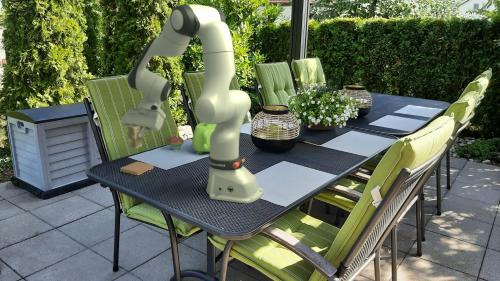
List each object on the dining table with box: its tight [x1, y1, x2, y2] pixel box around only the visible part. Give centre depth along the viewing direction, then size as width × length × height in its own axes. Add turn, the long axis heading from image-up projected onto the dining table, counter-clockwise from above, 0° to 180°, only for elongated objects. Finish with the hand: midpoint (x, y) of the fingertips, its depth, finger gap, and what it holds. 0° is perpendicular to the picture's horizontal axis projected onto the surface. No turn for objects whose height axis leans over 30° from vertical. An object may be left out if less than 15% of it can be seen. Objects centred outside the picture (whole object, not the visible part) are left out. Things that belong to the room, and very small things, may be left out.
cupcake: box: [166, 128, 184, 151], centre depth 197 cm, size 9×8×12 cm
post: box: [126, 125, 143, 149], centre depth 163 cm, size 4×4×9 cm
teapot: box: [191, 122, 217, 154], centre depth 196 cm, size 25×22×16 cm
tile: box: [120, 161, 155, 176], centre depth 167 cm, size 10×10×2 cm
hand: (133, 135), depth 162 cm, fingers closed on post, 4 cm apart
